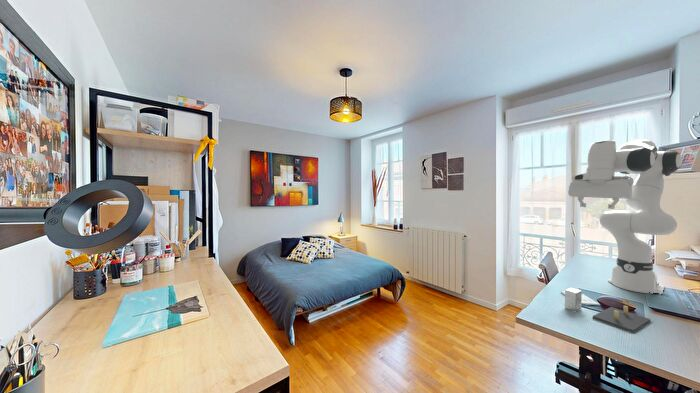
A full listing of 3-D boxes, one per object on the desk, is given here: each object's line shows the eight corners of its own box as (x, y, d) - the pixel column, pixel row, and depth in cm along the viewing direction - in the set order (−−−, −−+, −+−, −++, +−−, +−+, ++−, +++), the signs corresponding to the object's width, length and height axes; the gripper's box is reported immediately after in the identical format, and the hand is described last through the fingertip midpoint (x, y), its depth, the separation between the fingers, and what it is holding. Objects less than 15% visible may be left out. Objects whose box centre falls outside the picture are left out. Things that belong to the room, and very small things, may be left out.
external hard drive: (580, 295, 120) (600, 307, 107) (560, 294, 121) (578, 306, 109) (580, 292, 120) (600, 304, 107) (560, 290, 121) (578, 302, 109)
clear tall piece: (570, 305, 109) (571, 287, 108) (581, 309, 105) (581, 290, 105) (564, 308, 107) (565, 289, 106) (575, 311, 103) (575, 293, 103)
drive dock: (610, 309, 105) (611, 298, 105) (650, 321, 95) (650, 310, 95) (592, 318, 98) (592, 307, 98) (633, 332, 88) (633, 320, 88)
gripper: (637, 176, 101) (633, 210, 101) (575, 178, 119) (572, 206, 119) (630, 174, 98) (627, 209, 98) (568, 176, 117) (565, 205, 117)
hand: (596, 207), depth 109 cm, fingers open, 8 cm apart
